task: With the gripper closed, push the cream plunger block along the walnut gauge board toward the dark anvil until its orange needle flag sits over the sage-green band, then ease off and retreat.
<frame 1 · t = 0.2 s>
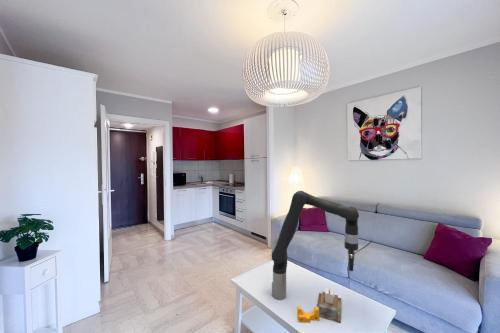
hand: (350, 267, 128), 29 cm above the table, fingers open, 8 cm apart
gauge board: (328, 307, 134), on the table
pipe clamp: (308, 320, 124), on the table
plunger: (329, 294, 139), point 6 cm above the table, slide at 0.0 cm
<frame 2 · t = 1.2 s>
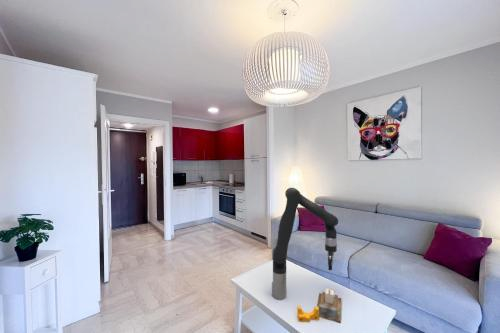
hand: (330, 267, 146), 20 cm above the table, fingers open, 7 cm apart
nothing on the table moved.
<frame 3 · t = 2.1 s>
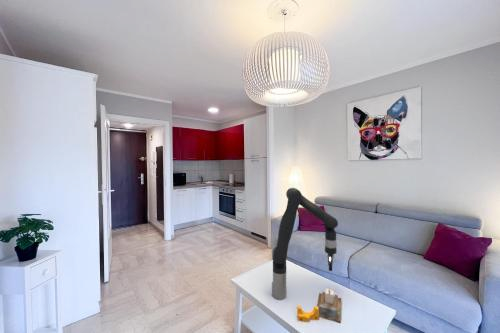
hand: (330, 270, 146), 18 cm above the table, fingers closed
nothing on the table moved.
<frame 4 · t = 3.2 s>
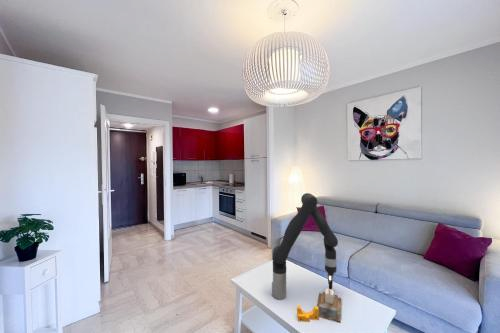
hand: (330, 288, 146), 5 cm above the table, fingers closed
nothing on the table moved.
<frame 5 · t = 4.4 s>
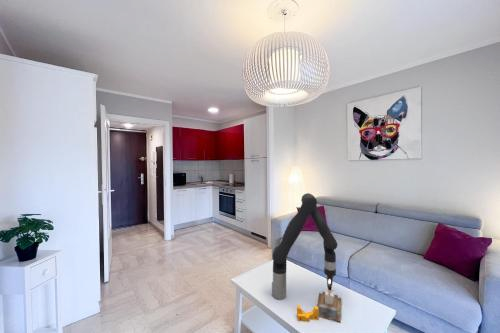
hand: (329, 292, 143), 4 cm above the table, fingers closed
plunger: (329, 295, 138), point 6 cm above the table, slide at 1.1 cm, touching gripper
everything else where it was.
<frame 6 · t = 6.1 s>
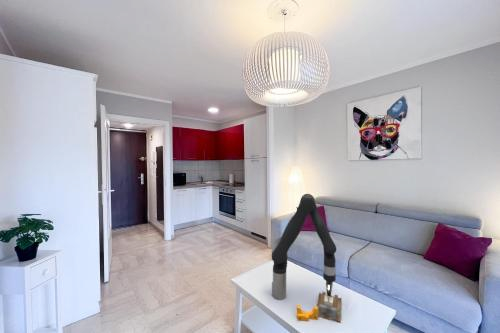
hand: (329, 298, 136), 4 cm above the table, fingers closed
plunger: (328, 301, 132), point 6 cm above the table, slide at 8.0 cm, touching gripper
everything else where it was.
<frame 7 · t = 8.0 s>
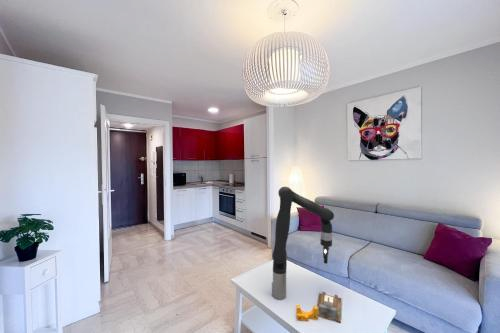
hand: (325, 263, 145), 23 cm above the table, fingers closed
plunger: (328, 301, 131), point 6 cm above the table, slide at 8.0 cm
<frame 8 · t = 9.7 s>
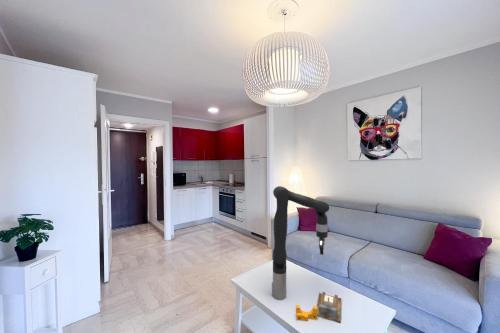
hand: (321, 254, 150), 27 cm above the table, fingers closed
at the end: plunger slide at 8.0 cm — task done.
